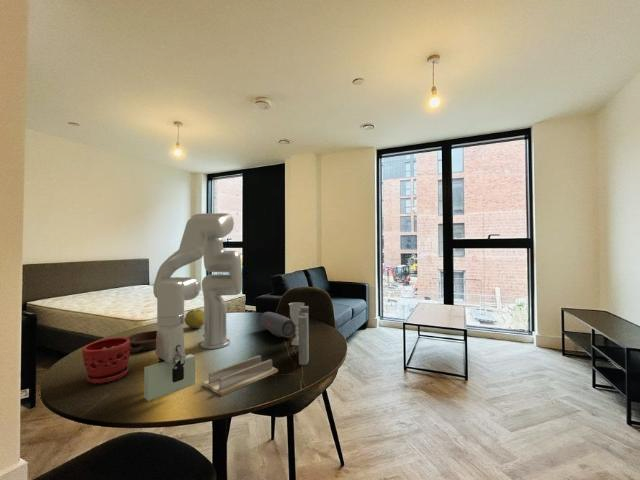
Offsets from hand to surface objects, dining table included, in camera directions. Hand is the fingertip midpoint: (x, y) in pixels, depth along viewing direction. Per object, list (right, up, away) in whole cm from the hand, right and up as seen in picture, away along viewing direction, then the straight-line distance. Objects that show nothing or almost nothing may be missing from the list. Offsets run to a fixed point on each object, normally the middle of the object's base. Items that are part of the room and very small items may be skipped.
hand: (170, 376), depth 93 cm
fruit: (-22, -6, +71) cm, 75 cm away
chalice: (+36, -5, +43) cm, 56 cm away
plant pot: (-26, -5, +9) cm, 28 cm away
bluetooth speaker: (+25, -6, +58) cm, 63 cm away
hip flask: (+40, -5, +26) cm, 48 cm away
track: (+20, -4, +8) cm, 22 cm away
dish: (-31, -6, +42) cm, 53 cm away
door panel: (0, -4, 0) cm, 4 cm away
